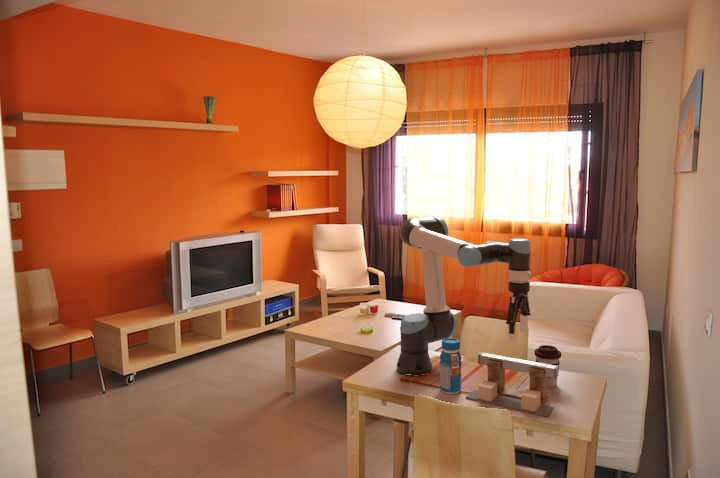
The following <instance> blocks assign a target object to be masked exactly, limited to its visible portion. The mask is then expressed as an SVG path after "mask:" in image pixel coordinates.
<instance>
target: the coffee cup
mask: <svg viewBox="0 0 720 478" xmlns="http://www.w3.org/2000/svg"><path fill="white" fill-rule="evenodd" d="M534 356H535V362H538V363H544V364H549V365H555V366H557V365H559V366H560V359H561V358H562V352H561V351H560V350H558V348H557V347H556V346H554V345H549V344H546V345H545V344H543V345H540V346H538V348H535V350H534ZM557 384H558V377H557V378H556V379H555V378H550V377H547V389H548V388H555V387H557Z"/></svg>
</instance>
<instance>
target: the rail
mask: <svg viewBox="0 0 720 478" xmlns="http://www.w3.org/2000/svg"><path fill="white" fill-rule="evenodd" d="M477 357H478V358H477V359H478V361H477V364H479V365H481V366H482V365H484V366H487V361H488V360H491V361H496V362H501V368H503V369H505V370H510V371H515V372H520V373H524V374H525V373H526V374H529V369H530V368H534V369H539V370H544V376H545V377H550V378H555V379H556V378H557V379H558V376H559V370H560V364H559V365H557V366H555V365H549V364H544V363H538V362H536V361H533V360H527V359H521V358H514V357H509V356H504V355H498V354H492V353H487V352H484V351H481V352H480V353H478V356H477Z"/></svg>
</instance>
